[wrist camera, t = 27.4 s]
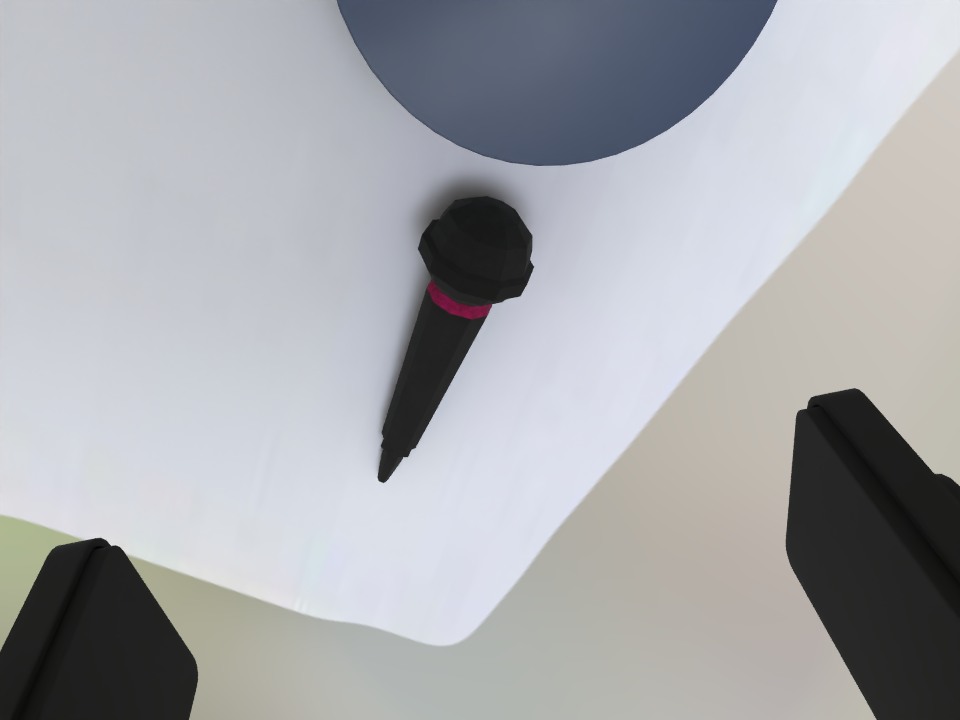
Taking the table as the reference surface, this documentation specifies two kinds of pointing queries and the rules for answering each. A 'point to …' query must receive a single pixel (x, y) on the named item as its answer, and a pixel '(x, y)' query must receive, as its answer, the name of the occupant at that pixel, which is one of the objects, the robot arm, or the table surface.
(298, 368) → the table surface
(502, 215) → the microphone
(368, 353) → the table surface
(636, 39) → the tin lid
